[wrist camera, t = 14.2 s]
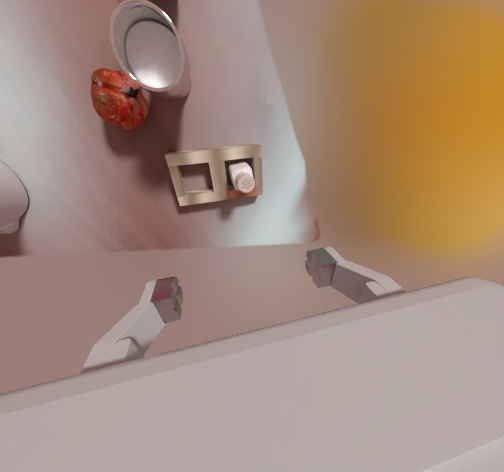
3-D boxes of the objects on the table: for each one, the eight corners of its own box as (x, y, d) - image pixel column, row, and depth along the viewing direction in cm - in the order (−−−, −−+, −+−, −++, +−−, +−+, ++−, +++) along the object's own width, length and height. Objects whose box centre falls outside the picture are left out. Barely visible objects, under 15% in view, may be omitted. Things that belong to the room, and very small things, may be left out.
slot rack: (181, 201, 41) (179, 207, 38) (167, 152, 36) (164, 155, 33) (259, 190, 44) (263, 195, 41) (257, 143, 38) (261, 145, 35)
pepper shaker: (227, 164, 39) (232, 175, 31) (245, 160, 39) (255, 170, 32) (231, 182, 41) (238, 197, 34) (248, 178, 42) (259, 192, 34)
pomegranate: (130, 132, 35) (168, 128, 31) (85, 131, 29) (125, 126, 25) (115, 82, 31) (155, 70, 27) (61, 69, 25) (102, 52, 21)
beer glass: (190, 110, 33) (182, 104, 21) (147, 94, 31) (108, 78, 18) (196, 60, 30) (191, 18, 17) (148, 39, 27) (102, -27, 15)
